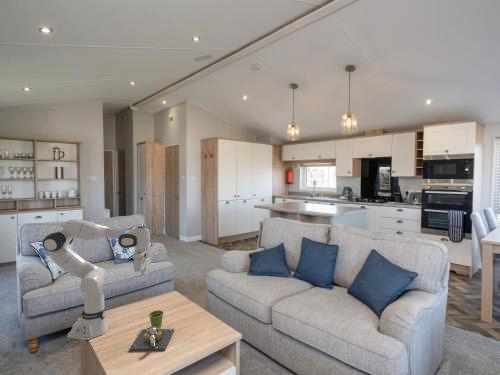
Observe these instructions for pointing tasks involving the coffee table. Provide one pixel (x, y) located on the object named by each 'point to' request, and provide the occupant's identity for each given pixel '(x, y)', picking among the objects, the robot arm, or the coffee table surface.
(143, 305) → the coffee table surface
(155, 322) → the plant pot
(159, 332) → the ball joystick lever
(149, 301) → the coffee table surface
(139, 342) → the flange plate
